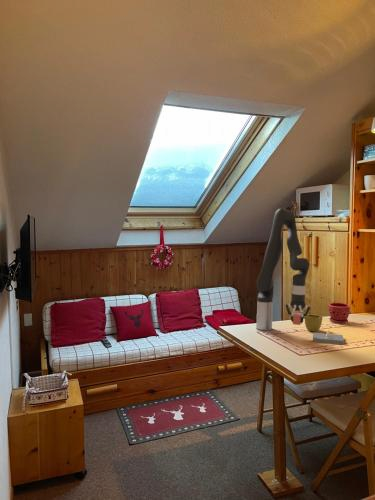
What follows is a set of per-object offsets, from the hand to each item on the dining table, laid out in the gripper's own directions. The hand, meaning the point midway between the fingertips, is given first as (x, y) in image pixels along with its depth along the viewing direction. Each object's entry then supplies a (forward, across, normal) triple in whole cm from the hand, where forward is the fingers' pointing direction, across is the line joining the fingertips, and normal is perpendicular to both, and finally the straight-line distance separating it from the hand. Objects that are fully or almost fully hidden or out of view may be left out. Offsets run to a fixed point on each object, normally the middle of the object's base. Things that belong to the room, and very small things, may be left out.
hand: (297, 322), depth 229 cm
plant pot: (+9, +24, +47) cm, 54 cm away
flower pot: (+9, +8, +20) cm, 23 cm away
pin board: (+8, +17, +1) cm, 19 cm away
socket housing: (0, 0, 0) cm, 0 cm away
